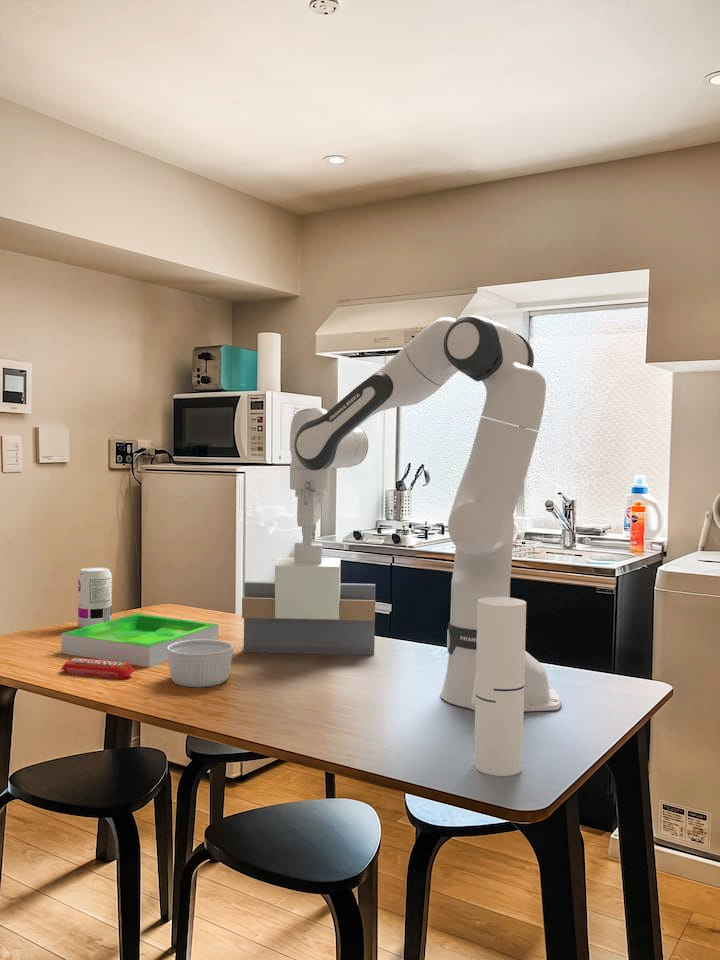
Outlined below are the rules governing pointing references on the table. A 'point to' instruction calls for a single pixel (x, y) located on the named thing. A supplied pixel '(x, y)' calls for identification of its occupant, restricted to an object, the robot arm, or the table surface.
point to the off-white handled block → (307, 584)
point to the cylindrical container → (499, 685)
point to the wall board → (309, 623)
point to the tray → (134, 638)
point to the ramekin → (200, 662)
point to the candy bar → (98, 668)
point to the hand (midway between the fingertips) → (309, 543)
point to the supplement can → (94, 596)
